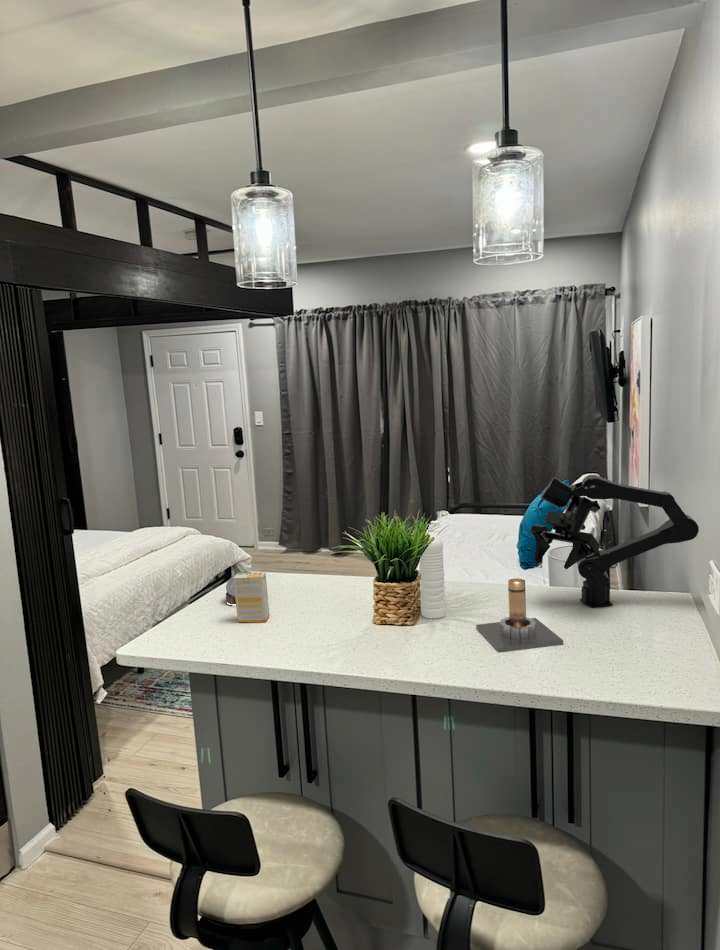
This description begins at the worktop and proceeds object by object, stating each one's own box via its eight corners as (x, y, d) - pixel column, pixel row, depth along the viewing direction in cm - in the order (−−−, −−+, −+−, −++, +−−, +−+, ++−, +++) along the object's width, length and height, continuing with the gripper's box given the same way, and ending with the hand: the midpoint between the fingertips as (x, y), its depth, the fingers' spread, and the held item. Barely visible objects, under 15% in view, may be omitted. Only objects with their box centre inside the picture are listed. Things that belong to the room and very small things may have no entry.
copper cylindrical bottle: (527, 629, 172) (526, 578, 171) (525, 635, 169) (524, 583, 167) (510, 628, 174) (509, 578, 172) (508, 634, 170) (506, 582, 168)
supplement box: (270, 616, 196) (266, 571, 194) (266, 622, 191) (262, 576, 190) (241, 617, 197) (237, 572, 195) (236, 623, 192) (232, 577, 190)
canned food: (260, 612, 214) (272, 585, 211) (238, 619, 206) (250, 592, 203) (235, 592, 219) (246, 565, 216) (213, 598, 211) (224, 570, 208)
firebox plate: (535, 621, 180) (535, 608, 180) (563, 644, 165) (562, 630, 164) (476, 628, 178) (475, 615, 178) (498, 652, 162) (497, 637, 162)
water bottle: (441, 620, 185) (437, 528, 182) (418, 617, 188) (413, 527, 185) (451, 609, 193) (448, 521, 190) (429, 607, 196) (425, 520, 193)
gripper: (532, 495, 191) (507, 542, 186) (592, 502, 176) (567, 554, 171) (551, 518, 197) (527, 565, 192) (610, 527, 182) (586, 578, 177)
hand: (550, 565), depth 183 cm, fingers open, 9 cm apart
